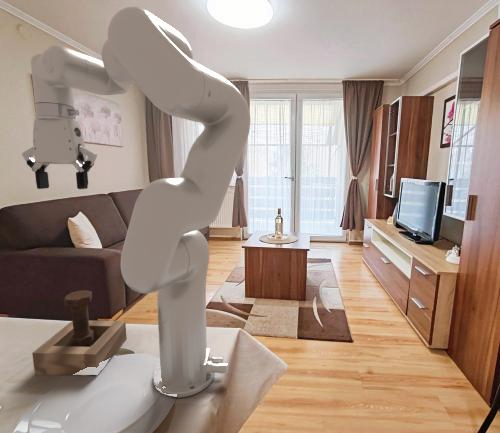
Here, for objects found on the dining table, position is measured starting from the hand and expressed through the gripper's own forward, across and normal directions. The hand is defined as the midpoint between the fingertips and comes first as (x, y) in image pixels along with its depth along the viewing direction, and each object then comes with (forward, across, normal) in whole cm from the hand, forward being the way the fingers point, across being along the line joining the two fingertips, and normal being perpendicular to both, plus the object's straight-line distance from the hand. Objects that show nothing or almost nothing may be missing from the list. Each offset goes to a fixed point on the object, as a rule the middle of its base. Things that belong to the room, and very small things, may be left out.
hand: (62, 188), depth 70 cm
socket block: (+38, -7, +8) cm, 40 cm away
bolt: (+39, -7, +8) cm, 40 cm away
